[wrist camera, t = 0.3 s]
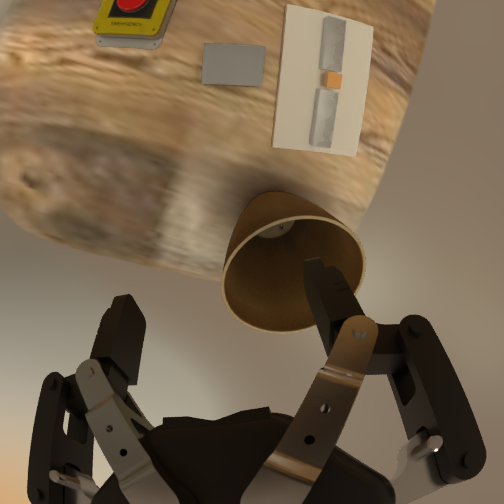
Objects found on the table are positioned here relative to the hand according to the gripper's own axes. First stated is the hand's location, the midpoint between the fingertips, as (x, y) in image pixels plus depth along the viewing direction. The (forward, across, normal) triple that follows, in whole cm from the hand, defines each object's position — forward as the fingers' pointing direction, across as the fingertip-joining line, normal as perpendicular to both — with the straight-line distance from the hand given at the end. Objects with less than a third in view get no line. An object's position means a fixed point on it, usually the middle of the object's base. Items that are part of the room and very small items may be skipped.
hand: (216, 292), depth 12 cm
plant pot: (+27, -6, +11) cm, 29 cm away
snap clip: (+24, -15, -7) cm, 30 cm away
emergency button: (+28, +5, -24) cm, 37 cm away
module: (+27, -4, -10) cm, 29 cm away
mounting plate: (+27, -15, -7) cm, 32 cm away
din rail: (+27, -15, -7) cm, 32 cm away
